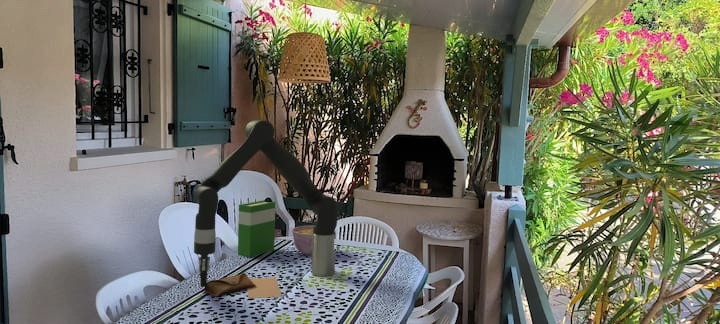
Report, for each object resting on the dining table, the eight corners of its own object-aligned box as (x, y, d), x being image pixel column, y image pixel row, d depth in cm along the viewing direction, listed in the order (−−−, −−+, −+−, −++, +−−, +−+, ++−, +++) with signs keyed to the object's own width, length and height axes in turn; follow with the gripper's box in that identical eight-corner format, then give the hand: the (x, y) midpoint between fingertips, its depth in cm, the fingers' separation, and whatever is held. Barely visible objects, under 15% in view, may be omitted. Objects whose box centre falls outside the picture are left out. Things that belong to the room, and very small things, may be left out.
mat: (275, 278, 200) (275, 277, 200) (281, 297, 179) (281, 296, 179) (245, 279, 197) (245, 278, 197) (248, 299, 176) (248, 298, 176)
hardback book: (262, 247, 247) (263, 200, 245) (274, 249, 243) (275, 201, 241) (237, 254, 232) (238, 204, 230) (249, 257, 228) (250, 206, 226)
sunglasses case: (216, 296, 175) (211, 278, 177) (207, 301, 180) (202, 284, 181) (258, 285, 189) (253, 268, 191) (248, 290, 193) (243, 274, 195)
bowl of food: (330, 259, 230) (331, 235, 229) (288, 257, 230) (288, 233, 229) (333, 248, 249) (334, 226, 249) (294, 247, 250) (295, 224, 249)
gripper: (215, 244, 176) (213, 291, 177) (215, 236, 188) (214, 280, 190) (193, 244, 174) (191, 292, 175) (195, 236, 186) (193, 280, 188)
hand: (203, 286), depth 182 cm, fingers closed
